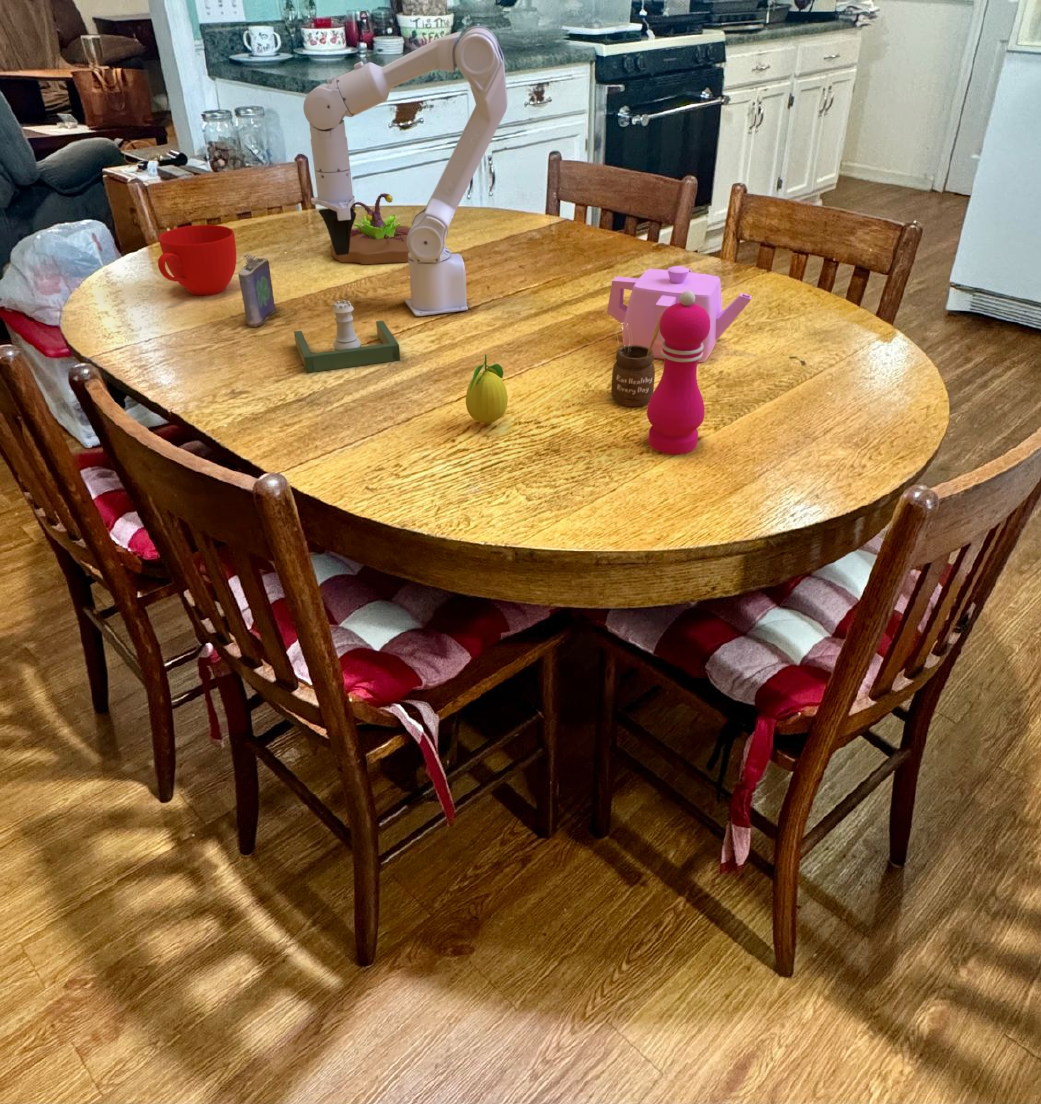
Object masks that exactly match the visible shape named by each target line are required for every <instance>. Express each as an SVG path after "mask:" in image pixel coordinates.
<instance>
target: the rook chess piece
mask: <svg viewBox="0 0 1041 1104" xmlns="http://www.w3.org/2000/svg"><path fill="white" fill-rule="evenodd" d="M354 309H355V308H354V306H353V305H352V303H351V301H350V300H346V299H343V300H342V302H341V301H340V300H336V302H335V301H334V302H333V307H332V309H331V311H332V312H333V313H334V314H335V318H334V321H336V336H335V337H334V338H335V340H334V342H333V344H332V346H333V350H332V351H335V350H342V349H350V348H358V347H361V345H362V343H361V340H360V339H359V338H358V335H357V334H356V331H355V328H354V323H353V321H354V317H353V315H352V314H353V311H354Z"/></svg>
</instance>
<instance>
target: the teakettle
mask: <svg viewBox="0 0 1041 1104" xmlns="http://www.w3.org/2000/svg"><path fill="white" fill-rule="evenodd" d="M721 285H722V284H721V278H720V276H717V275H713V274H707V273H700V272H693V269H689V268H687V267H685V266H682V265H674V266H670V267H668V268H667V269H661V268H648V269H646V270H645V271H644V272H643V273H642V274H641V275H640V277H628V276H627V277H625V276H615V277H613V279H612V280H611V285H610V292H609V297H608V303H607V309H606V314H607V315H609V316H611V317H612V319H614V320H616V321H617V322H618V323H620V324H621V323H623V324H622V328H623V332H622V336H623V335H624V339H623V338H622V345H623V346H624V343H625V346H629V345H638V346H644V347H647V348H650V345H651V342H652V339H653V334H654V331H655V328H656V326H657V323H658V321H659V318H660V316H661V315H662V314H663V312H664V311H665V310H666V309H667V308H668V307H670V306H671V305H673V304H675V303H680V296H681V294H682V293H683V292H684V291H691V292H693V293H694V295H695V302H694V303H695V304H698V305H700V306H701V307H702V308H704V309H705V310H706V312H707V313H708V315H709V318H710V331H709V334H708V336H707V337H706V339H705V340H704V341H702V344H703V346H704V348H703V350H702V352H703V356H702V357H701V358H700V359H699V360H698V363H704V362H706V361H707V360H708V359H709V357H710V355H711V353H712V351H713V350H714V348H715V345H716V344H717V341H718V340H719V339H720V337H721V336H723V334H724V333H725V331H726V330H727V329H728V328H729V327H730V326H731V324H732V323H733V322H734V321H735V320H736V318H737V317H738V316H739V315H740V314H741V313H742V312H743V310H744V309H745V308H746V307H747V305H749V303H750V302H751V300H752V298H753V296H752V295H749V294H746V293H743V292H740V294H739V295H738V296H737V297H736V298H735V299H734V300H733V301H732V302H731V303H730V304H728V306H726V308H724V309H723V297H722V286H721ZM625 290H626V291H627V290H628V291H631V293H630V296H629V298H628V299H629V300H628V304H627V305H626V304H624V296H625ZM624 323H626V324H628V325H629V326H630V327H629V326H628V325H626V324H625V325H626V326H627V327H626V326H625V325H624ZM627 328H628V329H627ZM630 328H631V329H630ZM628 330H629V332H628ZM631 332H632V334H631ZM629 335H630V342H629ZM664 340H665V339H664V338H663V337H662V335H661V333H660V329H659V332H658V335H657V338H656V340H655V341H654V344H653V347H652V349H651V350H652V351H653V355H654V359H658V360H664V357H663V356H662V354H661V350H662V343H663V341H664Z"/></svg>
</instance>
